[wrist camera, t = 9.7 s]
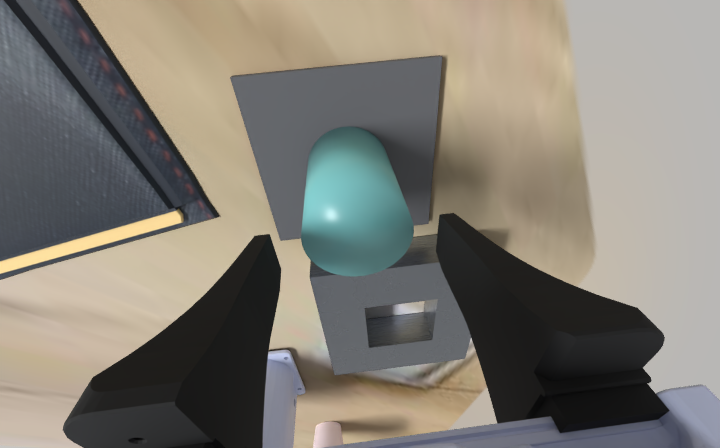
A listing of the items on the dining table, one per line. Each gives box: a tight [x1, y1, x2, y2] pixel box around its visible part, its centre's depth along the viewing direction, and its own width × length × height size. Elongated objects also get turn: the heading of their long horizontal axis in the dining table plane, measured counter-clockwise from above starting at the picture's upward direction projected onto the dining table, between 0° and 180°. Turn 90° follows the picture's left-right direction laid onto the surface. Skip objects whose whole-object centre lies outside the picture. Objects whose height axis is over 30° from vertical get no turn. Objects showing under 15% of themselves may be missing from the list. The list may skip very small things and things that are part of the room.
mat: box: [230, 55, 442, 241], centre depth 19 cm, size 11×11×1 cm
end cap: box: [301, 127, 414, 276], centre depth 16 cm, size 5×5×7 cm
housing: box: [310, 235, 471, 375], centre depth 26 cm, size 14×13×3 cm
